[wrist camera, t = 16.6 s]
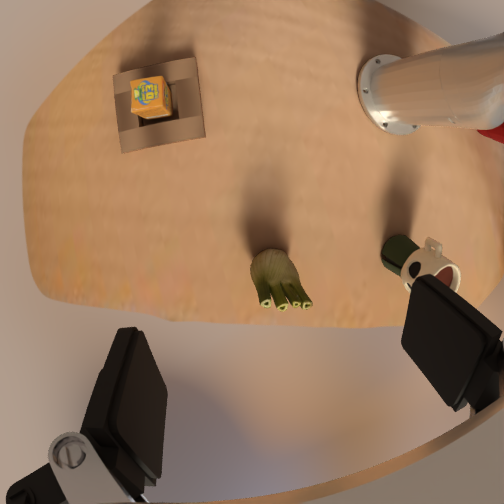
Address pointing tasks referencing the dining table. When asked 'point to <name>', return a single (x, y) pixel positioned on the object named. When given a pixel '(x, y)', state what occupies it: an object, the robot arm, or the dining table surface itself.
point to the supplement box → (151, 98)
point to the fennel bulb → (278, 281)
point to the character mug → (419, 262)
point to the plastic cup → (494, 133)
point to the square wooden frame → (168, 128)
